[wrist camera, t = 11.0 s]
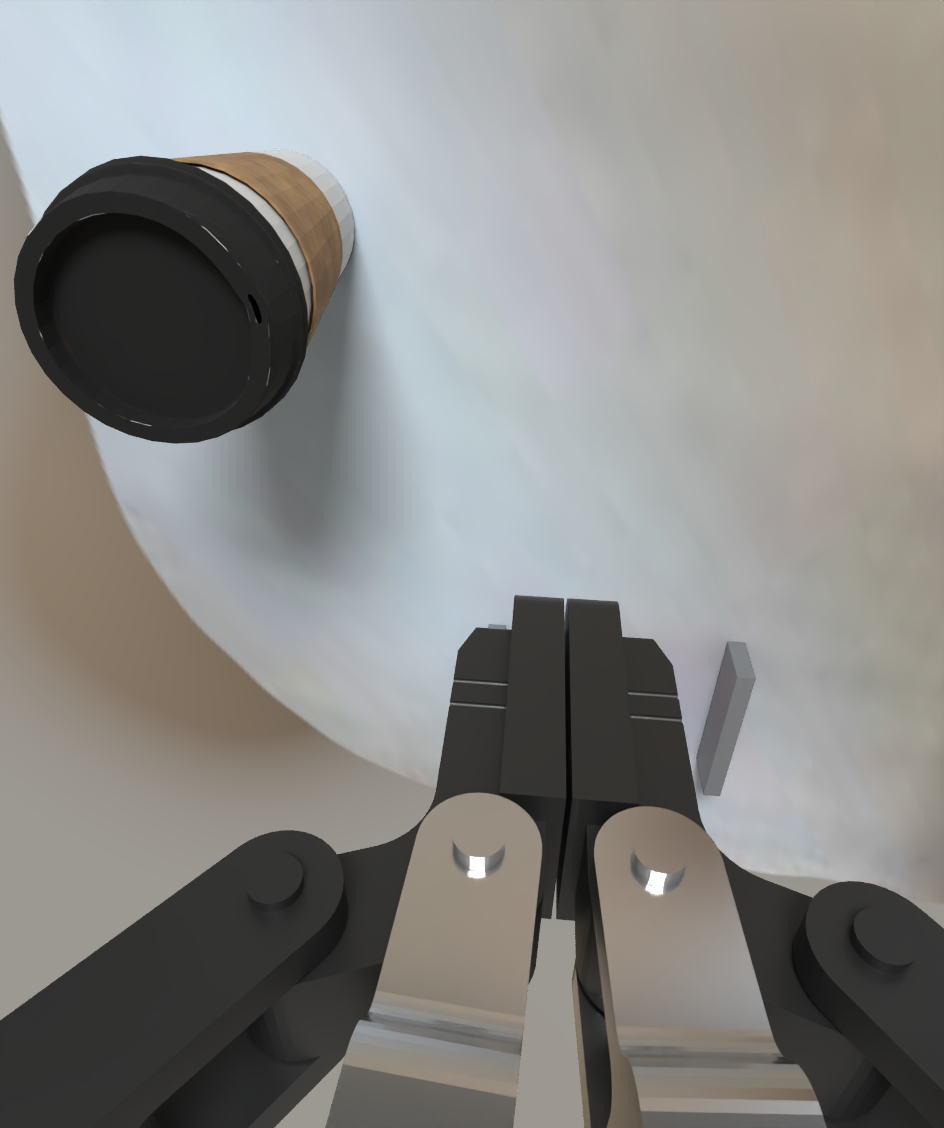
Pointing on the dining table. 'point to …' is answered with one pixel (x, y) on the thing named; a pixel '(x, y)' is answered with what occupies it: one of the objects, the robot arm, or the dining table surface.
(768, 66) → the dining table surface
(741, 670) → the lane rails
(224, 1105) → the robot arm
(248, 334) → the coffee cup
